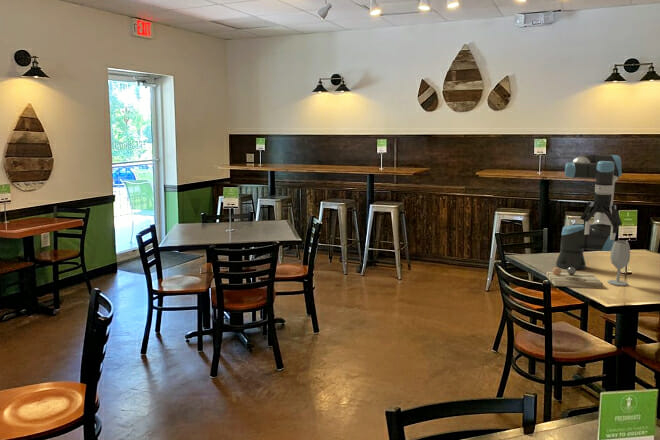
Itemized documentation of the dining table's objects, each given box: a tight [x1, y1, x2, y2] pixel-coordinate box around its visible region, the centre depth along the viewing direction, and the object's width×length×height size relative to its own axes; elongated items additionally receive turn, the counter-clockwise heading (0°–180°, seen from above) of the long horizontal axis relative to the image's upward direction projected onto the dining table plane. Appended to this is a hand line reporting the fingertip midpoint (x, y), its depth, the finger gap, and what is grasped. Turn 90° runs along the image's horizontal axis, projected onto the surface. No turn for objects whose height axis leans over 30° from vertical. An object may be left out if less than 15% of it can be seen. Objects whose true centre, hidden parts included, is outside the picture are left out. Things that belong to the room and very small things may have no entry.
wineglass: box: [607, 240, 631, 287], centre depth 283 cm, size 9×9×21 cm
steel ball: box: [566, 267, 577, 275], centre depth 291 cm, size 4×4×4 cm
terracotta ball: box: [552, 266, 562, 275], centre depth 290 cm, size 4×4×4 cm
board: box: [545, 271, 604, 289], centre depth 287 cm, size 18×22×2 cm
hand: (599, 236), depth 282 cm, fingers open, 13 cm apart
